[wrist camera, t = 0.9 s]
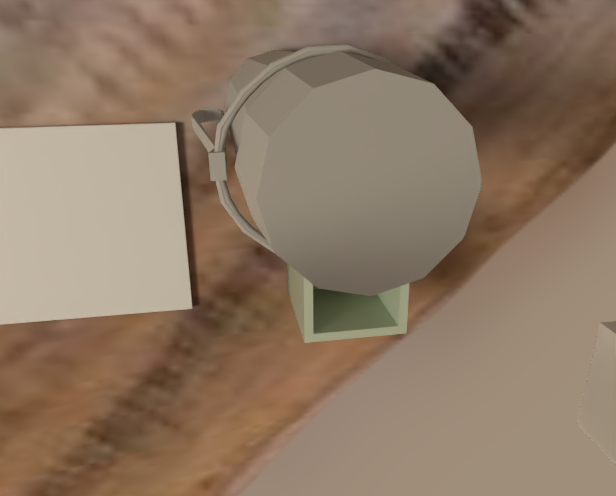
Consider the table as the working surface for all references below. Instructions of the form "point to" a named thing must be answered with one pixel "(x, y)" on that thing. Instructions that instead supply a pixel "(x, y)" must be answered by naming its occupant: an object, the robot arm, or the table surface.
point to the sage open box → (346, 311)
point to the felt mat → (91, 222)
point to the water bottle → (345, 165)
